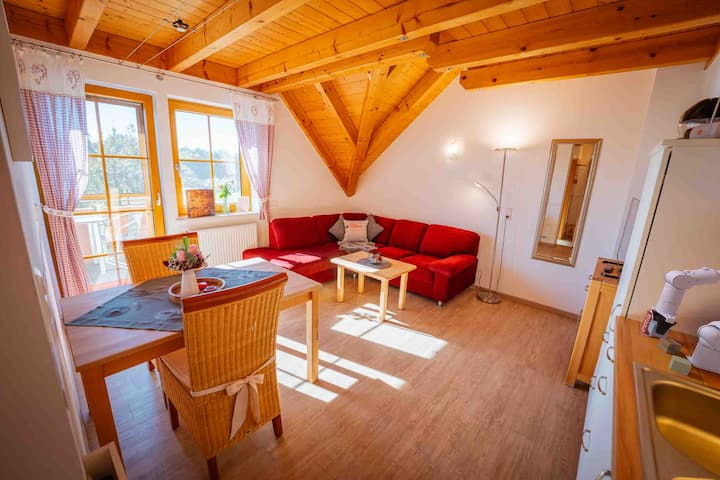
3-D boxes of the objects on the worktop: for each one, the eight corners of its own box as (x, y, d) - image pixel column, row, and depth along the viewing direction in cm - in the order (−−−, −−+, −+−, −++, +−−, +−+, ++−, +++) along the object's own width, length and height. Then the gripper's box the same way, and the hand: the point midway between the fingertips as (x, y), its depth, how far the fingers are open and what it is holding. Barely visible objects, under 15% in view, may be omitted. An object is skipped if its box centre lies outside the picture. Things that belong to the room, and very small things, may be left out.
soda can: (636, 330, 136) (645, 307, 133) (647, 331, 136) (656, 308, 133) (646, 337, 131) (656, 313, 128) (658, 337, 131) (667, 314, 128)
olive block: (685, 370, 110) (689, 360, 109) (686, 376, 107) (691, 366, 106) (668, 364, 113) (672, 354, 112) (669, 370, 110) (674, 360, 109)
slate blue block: (647, 329, 120) (651, 320, 119) (662, 333, 118) (666, 323, 117) (650, 334, 116) (654, 324, 115) (665, 338, 114) (669, 328, 113)
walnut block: (668, 348, 124) (672, 339, 123) (677, 354, 120) (682, 345, 119) (656, 346, 125) (660, 337, 123) (665, 353, 120) (669, 344, 119)
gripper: (651, 291, 121) (640, 319, 125) (661, 304, 109) (648, 335, 113) (674, 296, 117) (662, 325, 121) (687, 310, 105) (674, 342, 109)
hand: (657, 331), depth 117 cm, fingers closed on slate blue block, 4 cm apart
